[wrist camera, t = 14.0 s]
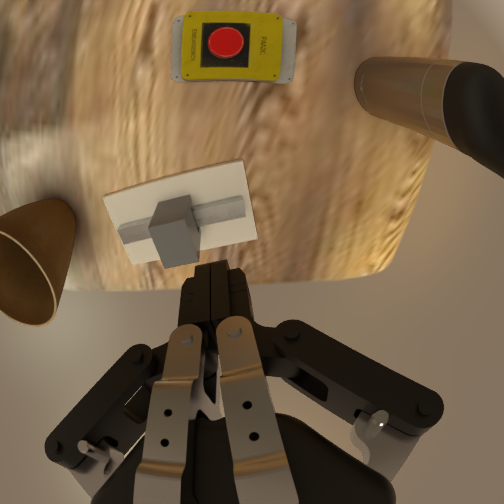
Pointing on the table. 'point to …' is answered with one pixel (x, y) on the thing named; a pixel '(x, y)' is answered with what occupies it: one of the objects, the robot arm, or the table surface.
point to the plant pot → (35, 260)
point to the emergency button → (233, 47)
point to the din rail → (201, 214)
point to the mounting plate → (201, 191)
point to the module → (175, 232)
